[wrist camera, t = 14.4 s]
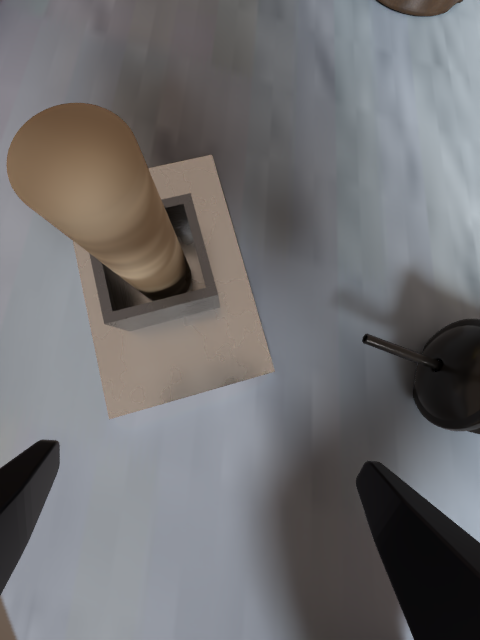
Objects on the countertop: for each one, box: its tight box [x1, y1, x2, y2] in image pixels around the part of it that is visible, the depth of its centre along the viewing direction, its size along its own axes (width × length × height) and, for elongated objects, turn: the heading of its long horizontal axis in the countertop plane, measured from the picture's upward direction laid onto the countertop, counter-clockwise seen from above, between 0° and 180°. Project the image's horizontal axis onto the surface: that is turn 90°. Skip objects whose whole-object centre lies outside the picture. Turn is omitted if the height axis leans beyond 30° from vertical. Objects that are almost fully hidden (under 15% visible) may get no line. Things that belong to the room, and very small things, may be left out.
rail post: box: [7, 103, 192, 301], centre depth 14 cm, size 4×4×12 cm
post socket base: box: [73, 155, 275, 419], centre depth 19 cm, size 18×12×5 cm, turn 15°
